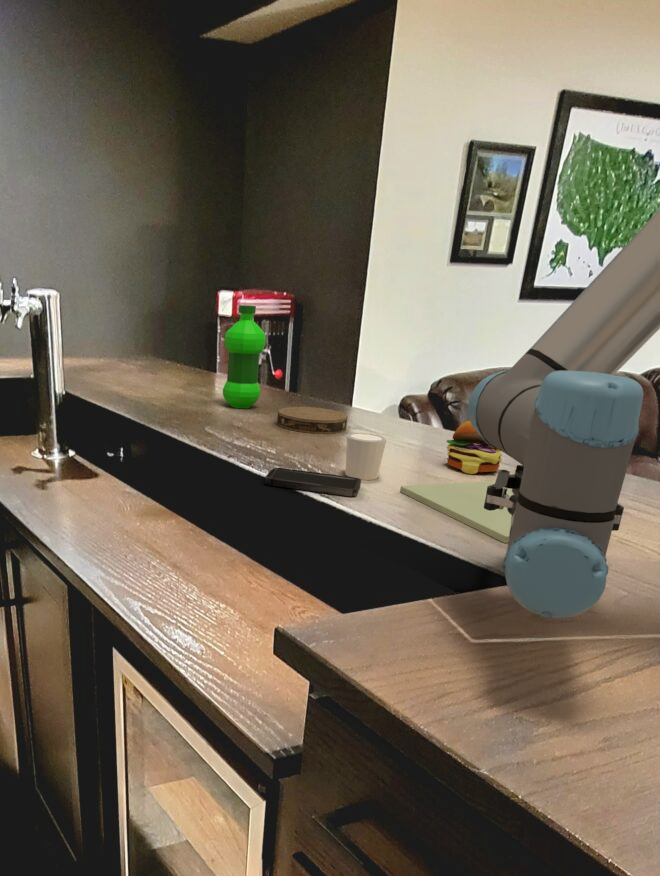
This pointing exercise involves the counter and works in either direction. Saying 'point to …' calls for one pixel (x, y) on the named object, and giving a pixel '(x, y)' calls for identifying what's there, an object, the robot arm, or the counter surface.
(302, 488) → the phone
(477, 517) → the mat
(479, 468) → the cheeseburger
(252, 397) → the plastic bottle
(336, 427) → the brown round disc
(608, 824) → the counter surface
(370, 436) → the white cup
